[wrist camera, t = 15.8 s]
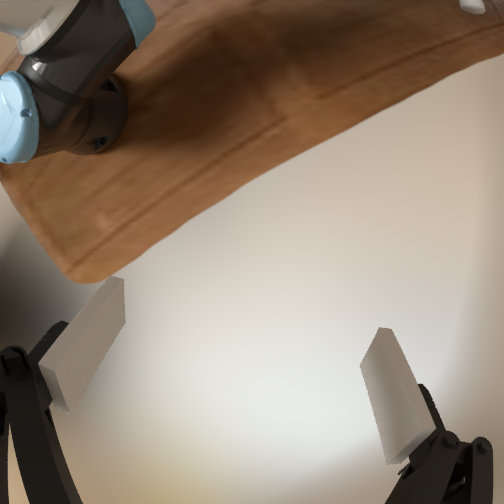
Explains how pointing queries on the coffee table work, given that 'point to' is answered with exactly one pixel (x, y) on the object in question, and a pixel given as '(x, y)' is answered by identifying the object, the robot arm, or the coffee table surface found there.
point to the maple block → (472, 6)
